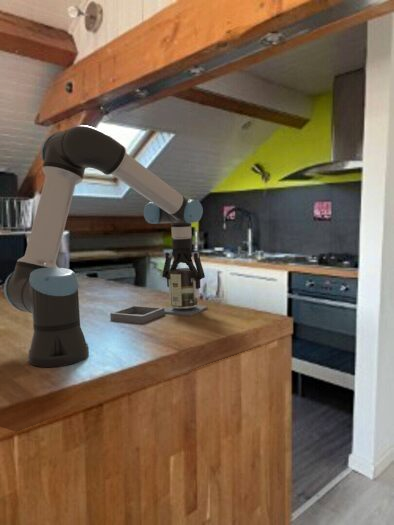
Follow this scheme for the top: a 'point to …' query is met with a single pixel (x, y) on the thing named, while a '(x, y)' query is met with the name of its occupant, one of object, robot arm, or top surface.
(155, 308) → the collar
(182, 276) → the coffee can
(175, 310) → the slate mat
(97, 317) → the top surface
